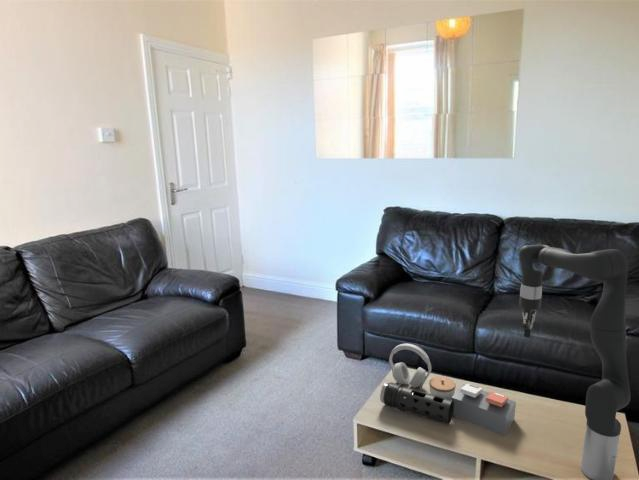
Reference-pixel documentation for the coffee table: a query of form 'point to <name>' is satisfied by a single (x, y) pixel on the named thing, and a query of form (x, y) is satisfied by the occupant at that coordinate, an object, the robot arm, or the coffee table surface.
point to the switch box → (484, 411)
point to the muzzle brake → (417, 402)
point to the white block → (471, 390)
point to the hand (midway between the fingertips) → (527, 336)
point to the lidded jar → (442, 387)
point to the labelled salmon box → (496, 399)
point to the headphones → (401, 369)
